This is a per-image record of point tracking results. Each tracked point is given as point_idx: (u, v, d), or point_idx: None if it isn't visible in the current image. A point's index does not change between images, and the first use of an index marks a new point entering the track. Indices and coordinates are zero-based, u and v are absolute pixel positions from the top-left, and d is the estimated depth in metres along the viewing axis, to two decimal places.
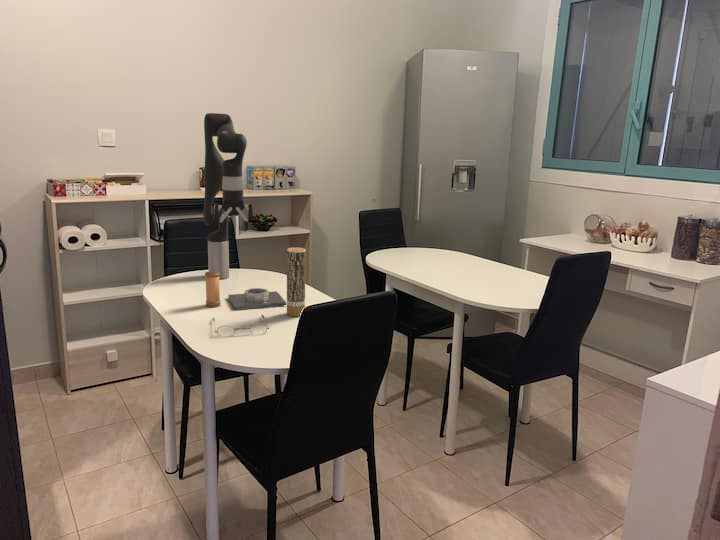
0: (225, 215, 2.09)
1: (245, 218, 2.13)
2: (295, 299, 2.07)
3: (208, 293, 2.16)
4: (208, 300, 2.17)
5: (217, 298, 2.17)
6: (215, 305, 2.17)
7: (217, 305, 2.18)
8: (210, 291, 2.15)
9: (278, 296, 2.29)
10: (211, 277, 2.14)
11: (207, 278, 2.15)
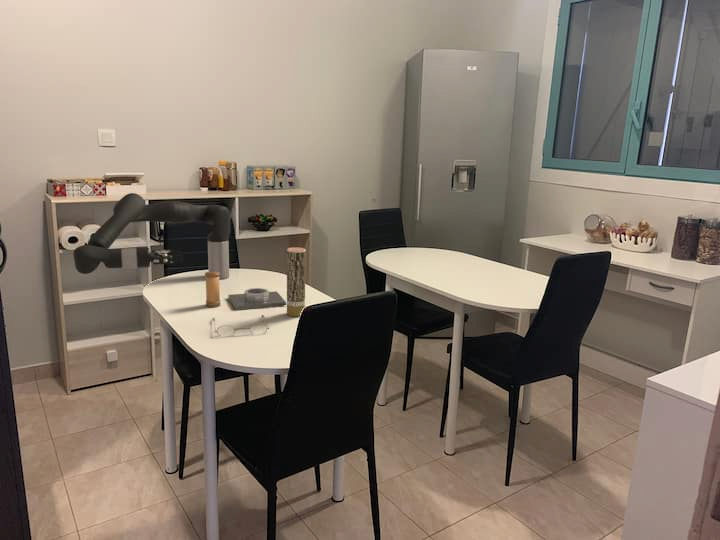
0: None
1: None
2: (295, 299, 2.07)
3: (208, 293, 2.16)
4: (208, 300, 2.17)
5: (217, 298, 2.17)
6: (215, 305, 2.17)
7: (217, 305, 2.18)
8: (210, 291, 2.15)
9: (278, 296, 2.29)
10: (211, 277, 2.14)
11: (207, 278, 2.15)
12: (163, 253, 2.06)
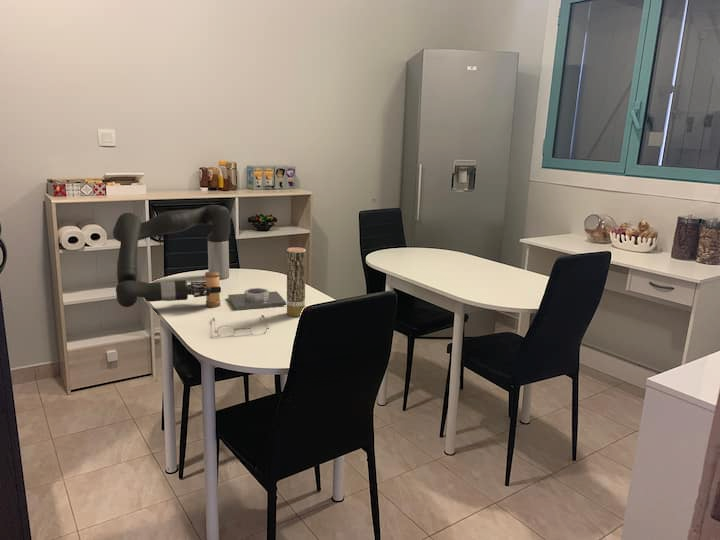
0: None
1: None
2: (295, 299, 2.07)
3: None
4: (208, 300, 2.17)
5: (217, 298, 2.17)
6: (215, 305, 2.17)
7: (217, 305, 2.18)
8: None
9: (278, 296, 2.29)
10: (211, 277, 2.14)
11: (207, 278, 2.15)
12: (200, 285, 2.14)
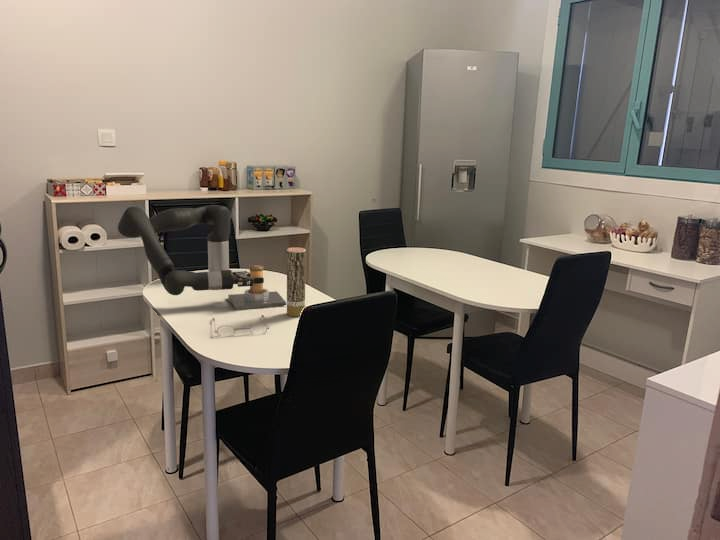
0: None
1: None
2: (295, 299, 2.07)
3: (252, 286, 2.22)
4: (252, 293, 2.22)
5: (261, 291, 2.23)
6: None
7: None
8: (254, 284, 2.21)
9: (278, 296, 2.29)
10: (256, 270, 2.19)
11: (251, 272, 2.20)
12: (245, 275, 2.19)
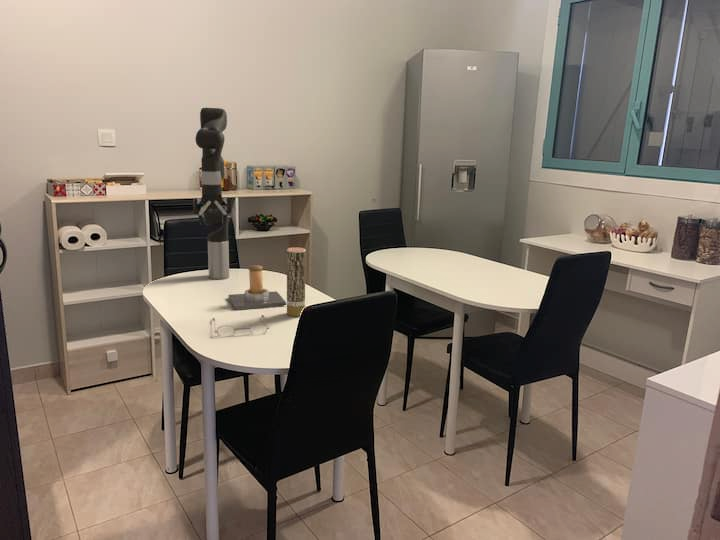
0: (204, 208, 2.19)
1: (223, 211, 2.22)
2: (295, 299, 2.07)
3: (252, 286, 2.21)
4: (252, 293, 2.22)
5: (260, 291, 2.23)
6: None
7: None
8: (253, 284, 2.21)
9: (278, 296, 2.29)
10: (255, 270, 2.19)
11: (251, 272, 2.20)
12: None
